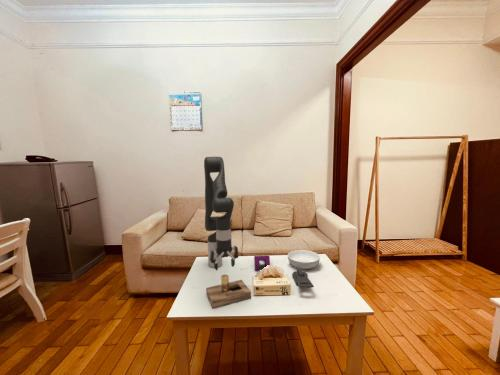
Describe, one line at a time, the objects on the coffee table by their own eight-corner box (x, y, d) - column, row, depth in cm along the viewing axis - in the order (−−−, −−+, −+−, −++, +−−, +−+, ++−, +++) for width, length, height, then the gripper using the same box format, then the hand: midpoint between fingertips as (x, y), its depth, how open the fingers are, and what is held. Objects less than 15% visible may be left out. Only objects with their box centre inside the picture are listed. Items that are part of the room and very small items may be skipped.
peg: (220, 294, 123) (219, 275, 121) (228, 292, 124) (227, 273, 123) (222, 299, 119) (222, 279, 117) (230, 297, 120) (230, 277, 119)
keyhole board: (206, 294, 124) (206, 287, 124) (241, 286, 132) (241, 279, 132) (212, 308, 112) (212, 301, 112) (251, 298, 120) (250, 291, 120)
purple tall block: (254, 269, 164) (255, 269, 147) (253, 257, 167) (254, 255, 150) (267, 269, 164) (270, 269, 147) (267, 256, 167) (269, 255, 150)
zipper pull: (297, 285, 119) (291, 264, 144) (297, 298, 120) (291, 274, 145) (315, 286, 119) (306, 264, 144) (314, 298, 120) (306, 274, 144)
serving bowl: (306, 256, 171) (306, 247, 170) (326, 268, 152) (326, 258, 151) (281, 262, 162) (281, 252, 161) (300, 275, 143) (300, 264, 142)
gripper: (234, 233, 124) (235, 262, 126) (207, 237, 118) (209, 267, 120) (239, 237, 117) (240, 268, 119) (211, 242, 111) (212, 274, 114)
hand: (224, 267), depth 120 cm, fingers open, 8 cm apart
